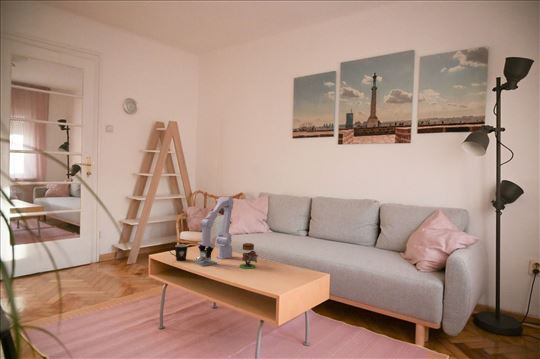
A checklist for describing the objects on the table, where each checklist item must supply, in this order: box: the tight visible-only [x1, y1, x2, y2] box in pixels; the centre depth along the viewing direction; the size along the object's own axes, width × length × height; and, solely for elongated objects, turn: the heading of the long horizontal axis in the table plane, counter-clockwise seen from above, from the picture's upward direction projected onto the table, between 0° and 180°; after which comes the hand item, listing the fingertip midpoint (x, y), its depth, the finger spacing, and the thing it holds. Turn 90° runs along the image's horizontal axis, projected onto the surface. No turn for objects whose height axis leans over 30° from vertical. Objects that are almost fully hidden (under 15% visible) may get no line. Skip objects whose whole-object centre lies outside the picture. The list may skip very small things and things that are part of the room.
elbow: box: [195, 249, 212, 262], centre depth 241 cm, size 10×5×6 cm, turn 143°
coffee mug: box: [169, 243, 189, 262], centre depth 250 cm, size 12×9×10 cm
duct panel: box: [193, 259, 218, 267], centre depth 243 cm, size 11×12×4 cm
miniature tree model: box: [239, 242, 259, 270], centre depth 238 cm, size 12×13×15 cm
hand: (205, 256), depth 243 cm, fingers closed on elbow, 5 cm apart
